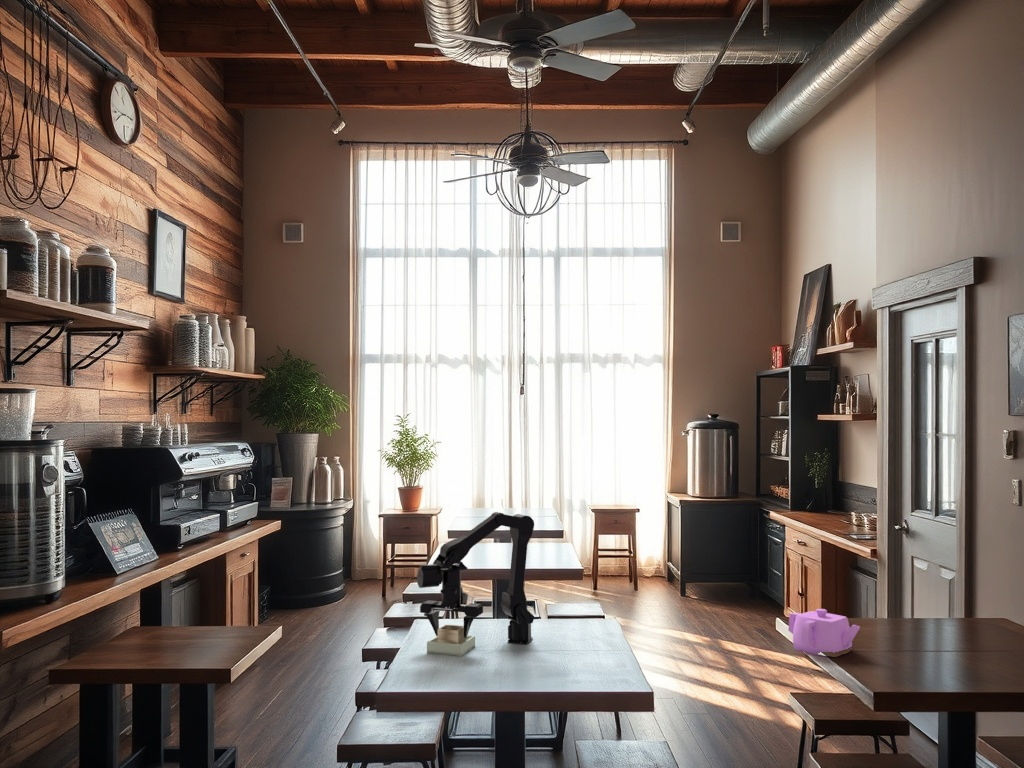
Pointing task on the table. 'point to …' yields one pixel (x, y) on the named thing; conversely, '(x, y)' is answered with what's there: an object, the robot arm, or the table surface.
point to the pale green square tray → (450, 646)
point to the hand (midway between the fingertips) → (451, 636)
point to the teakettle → (821, 632)
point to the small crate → (451, 634)
